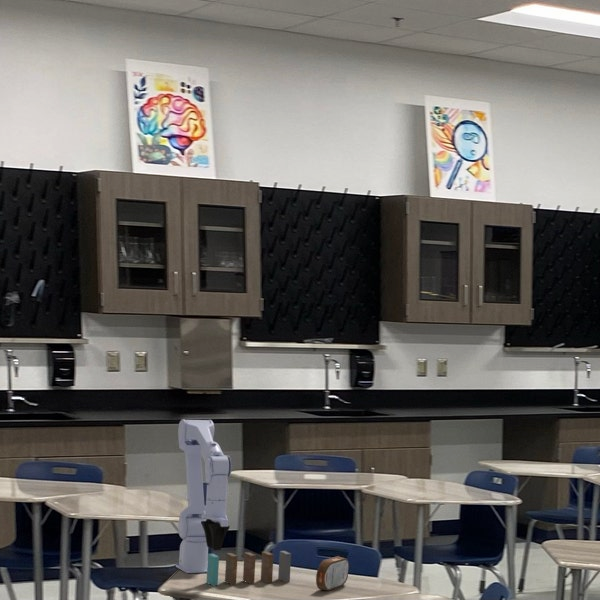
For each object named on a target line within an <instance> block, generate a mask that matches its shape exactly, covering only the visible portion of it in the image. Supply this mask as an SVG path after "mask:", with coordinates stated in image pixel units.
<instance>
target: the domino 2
mask: <svg viewBox="0 0 600 600" xmlns="http://www.w3.org/2000/svg"><path fill="white" fill-rule="evenodd" d="M243 555H244V556H243V572H242V581H243V580H244V581H246V582H247V583H246V582H245V583H246V584H248V583H249V584H248V585H253V584H252V583H254V584H255V577H256V574H255V573H256V570H255V569H256V558H257V557H256V554H254V553H252V552H249V551H248V552H243ZM244 581H243V582H244Z"/></svg>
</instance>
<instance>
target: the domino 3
mask: <svg viewBox="0 0 600 600" xmlns="http://www.w3.org/2000/svg"><path fill="white" fill-rule="evenodd" d="M260 567H261V568H260V581H261V582H263V583H266V584H273V575H274V573H273V571H274V554H273V553H271V552H269V551H261V566H260Z"/></svg>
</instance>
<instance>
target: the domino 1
mask: <svg viewBox="0 0 600 600" xmlns="http://www.w3.org/2000/svg"><path fill="white" fill-rule="evenodd" d="M238 557H239V556H238V555H236V554H234V553H232V552H227V553H226V555H225V572H224V574H225V575H224V582H225V581H226V582H228V583H230V584H236V585H237V575H238ZM226 582H225V583H226ZM228 583H227V584H228ZM230 584H229V585H230Z"/></svg>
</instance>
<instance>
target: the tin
mask: <svg viewBox="0 0 600 600" xmlns="http://www.w3.org/2000/svg"><path fill="white" fill-rule="evenodd" d="M349 570H350V563H349V560H348V559H347V558H345V557H341V556H340V555H337V556H334V557H330V558H329V557H328V558H326V559H323V560H322V561H321V562H320V564H319V565H318V568H317V570H316V576H315V582H316V583H315V584H316V587H317V588H318V589H319V590H323V591H327V592H328V591H332V590H334V589H339V588H342V587H343V586H344V585H345V584H346V583H347V580H348V577H349Z"/></svg>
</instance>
